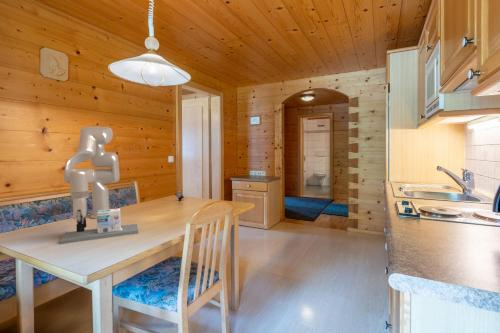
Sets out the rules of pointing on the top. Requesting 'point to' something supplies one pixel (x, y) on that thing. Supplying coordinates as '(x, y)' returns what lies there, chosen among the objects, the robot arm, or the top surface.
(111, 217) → the light bulb box
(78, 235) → the slate board
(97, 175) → the robot arm
